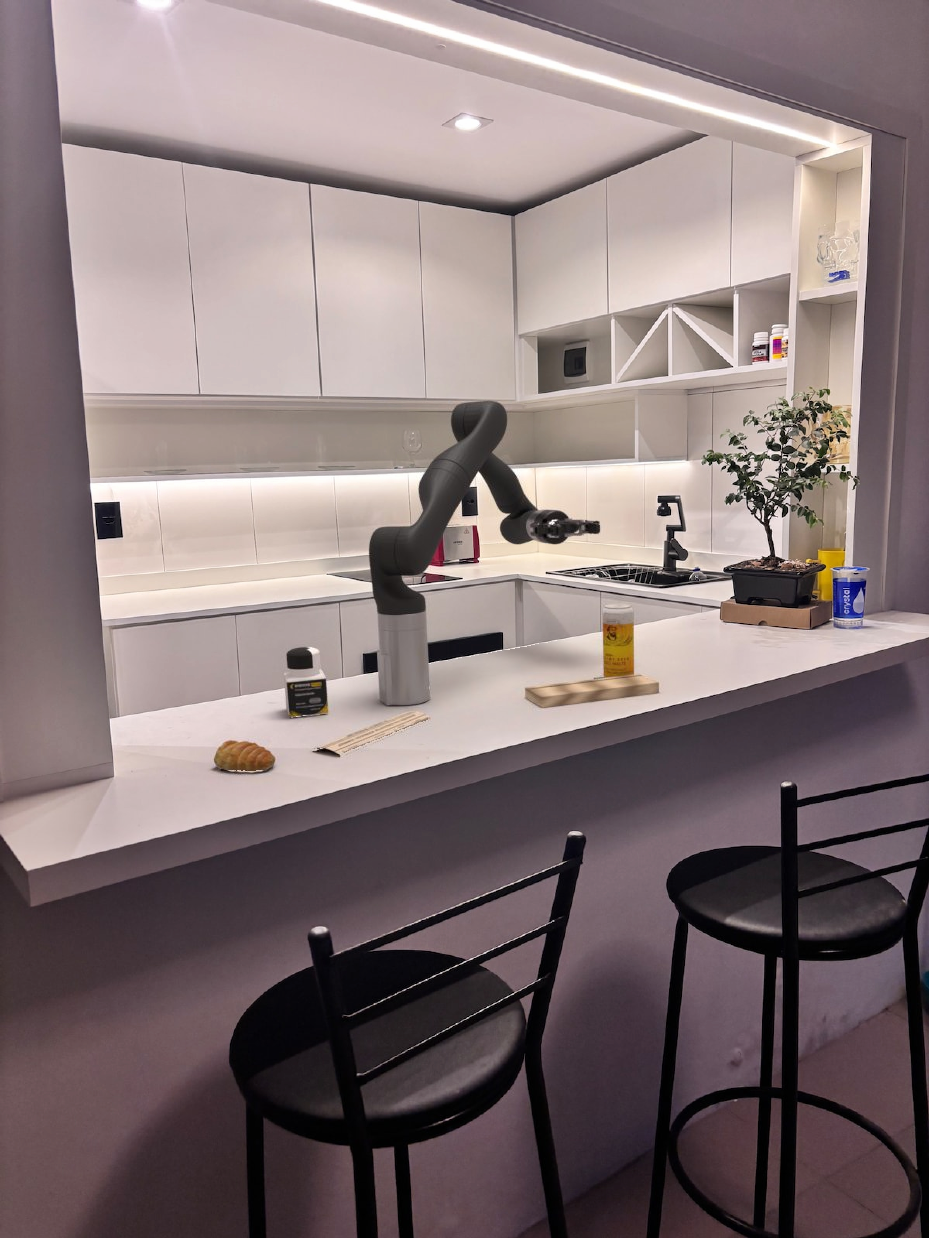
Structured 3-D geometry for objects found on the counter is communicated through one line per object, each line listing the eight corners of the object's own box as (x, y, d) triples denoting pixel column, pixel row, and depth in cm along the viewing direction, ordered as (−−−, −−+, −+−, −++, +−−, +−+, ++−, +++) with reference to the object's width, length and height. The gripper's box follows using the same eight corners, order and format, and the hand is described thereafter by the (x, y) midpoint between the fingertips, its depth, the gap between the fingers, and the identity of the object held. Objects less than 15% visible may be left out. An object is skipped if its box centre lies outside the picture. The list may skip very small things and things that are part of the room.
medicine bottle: (289, 718, 160) (284, 654, 158) (286, 709, 167) (281, 647, 165) (328, 714, 162) (324, 650, 160) (324, 705, 169) (320, 643, 167)
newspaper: (339, 761, 137) (339, 750, 137) (306, 755, 141) (306, 744, 141) (430, 723, 156) (430, 713, 156) (399, 718, 160) (398, 708, 160)
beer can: (599, 681, 177) (598, 607, 175) (609, 674, 182) (608, 602, 180) (628, 683, 174) (628, 608, 172) (638, 676, 180) (637, 603, 177)
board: (541, 707, 160) (541, 696, 160) (525, 697, 168) (525, 687, 168) (658, 692, 168) (658, 681, 167) (638, 683, 175) (638, 673, 175)
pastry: (286, 765, 135) (284, 741, 134) (256, 779, 129) (254, 754, 129) (240, 757, 140) (238, 734, 139) (209, 771, 134) (206, 747, 133)
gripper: (517, 511, 195) (546, 513, 180) (576, 508, 200) (610, 509, 184) (518, 545, 197) (547, 550, 181) (577, 541, 201) (610, 545, 186)
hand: (579, 529), depth 183 cm, fingers open, 8 cm apart
